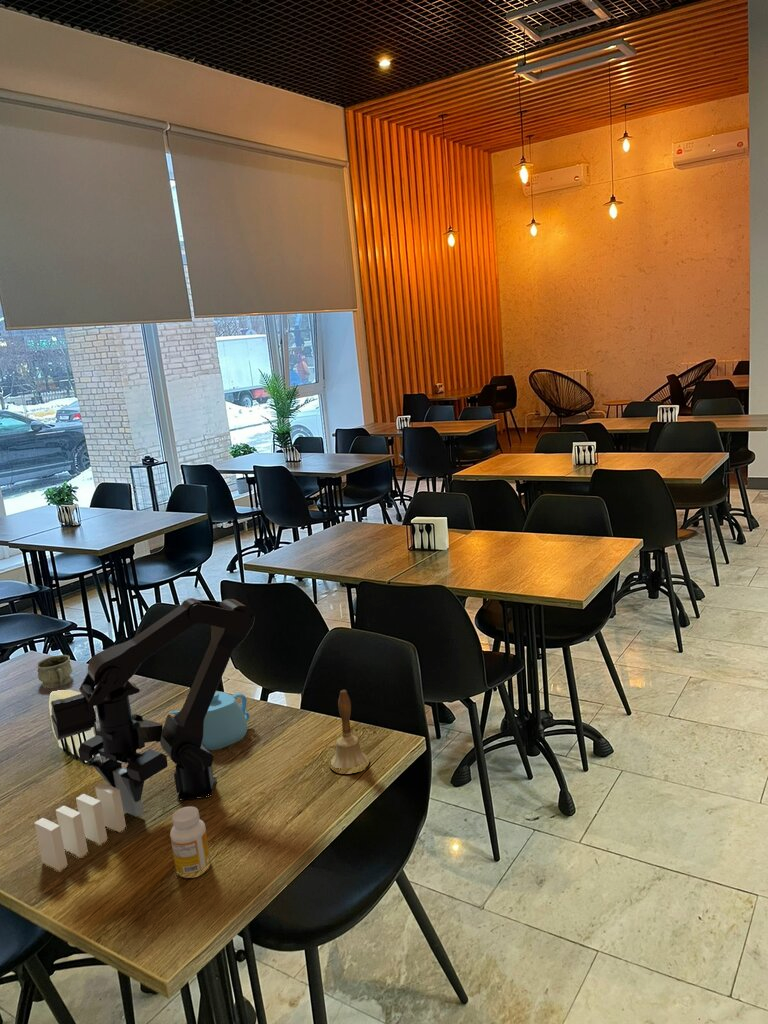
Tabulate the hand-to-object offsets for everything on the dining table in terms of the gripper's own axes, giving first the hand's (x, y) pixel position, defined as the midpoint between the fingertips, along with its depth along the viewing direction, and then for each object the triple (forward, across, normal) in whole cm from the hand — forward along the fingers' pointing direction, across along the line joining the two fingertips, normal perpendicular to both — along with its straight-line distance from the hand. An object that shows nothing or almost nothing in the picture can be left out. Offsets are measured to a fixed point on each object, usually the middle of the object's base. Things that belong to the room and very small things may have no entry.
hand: (129, 797), depth 143 cm
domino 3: (+4, 0, +8) cm, 9 cm away
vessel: (+4, +73, -32) cm, 80 cm away
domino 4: (+4, 0, +4) cm, 6 cm away
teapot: (+4, +7, -28) cm, 29 cm away
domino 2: (+4, 0, +12) cm, 13 cm away
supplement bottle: (+4, -22, +5) cm, 23 cm away
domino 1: (+4, 0, +16) cm, 16 cm away
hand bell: (+4, -26, -33) cm, 43 cm away
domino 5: (+3, 0, 0) cm, 3 cm away
